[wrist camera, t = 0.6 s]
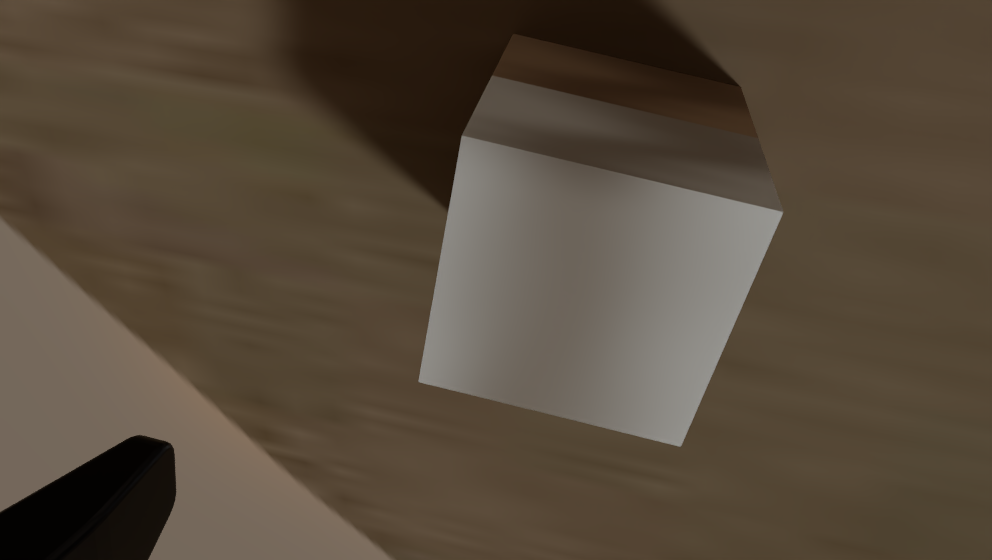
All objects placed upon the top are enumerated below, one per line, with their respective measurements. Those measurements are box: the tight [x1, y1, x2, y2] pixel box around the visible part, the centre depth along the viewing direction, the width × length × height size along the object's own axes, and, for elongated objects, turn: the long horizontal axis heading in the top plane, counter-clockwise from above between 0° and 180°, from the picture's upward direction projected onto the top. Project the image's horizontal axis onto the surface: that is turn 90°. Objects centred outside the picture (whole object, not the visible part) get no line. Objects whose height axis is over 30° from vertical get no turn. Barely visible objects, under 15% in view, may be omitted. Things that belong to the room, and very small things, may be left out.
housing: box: [419, 34, 783, 447], centre depth 16 cm, size 5×5×6 cm
